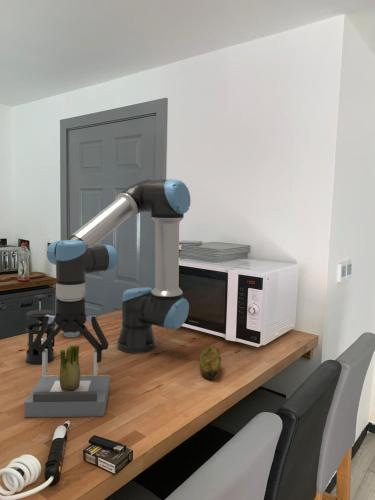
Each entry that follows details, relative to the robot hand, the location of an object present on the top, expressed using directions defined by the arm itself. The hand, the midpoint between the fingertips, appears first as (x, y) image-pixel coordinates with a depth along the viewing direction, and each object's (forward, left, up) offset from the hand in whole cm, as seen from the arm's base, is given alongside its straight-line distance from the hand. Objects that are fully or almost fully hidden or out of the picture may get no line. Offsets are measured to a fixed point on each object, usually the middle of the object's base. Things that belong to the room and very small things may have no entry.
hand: (70, 373), depth 109 cm
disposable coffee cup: (+10, -58, -9) cm, 59 cm away
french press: (+16, -32, -9) cm, 37 cm away
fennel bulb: (0, 0, -5) cm, 5 cm away
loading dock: (0, -1, -9) cm, 9 cm away
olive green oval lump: (-42, -20, -9) cm, 47 cm away
